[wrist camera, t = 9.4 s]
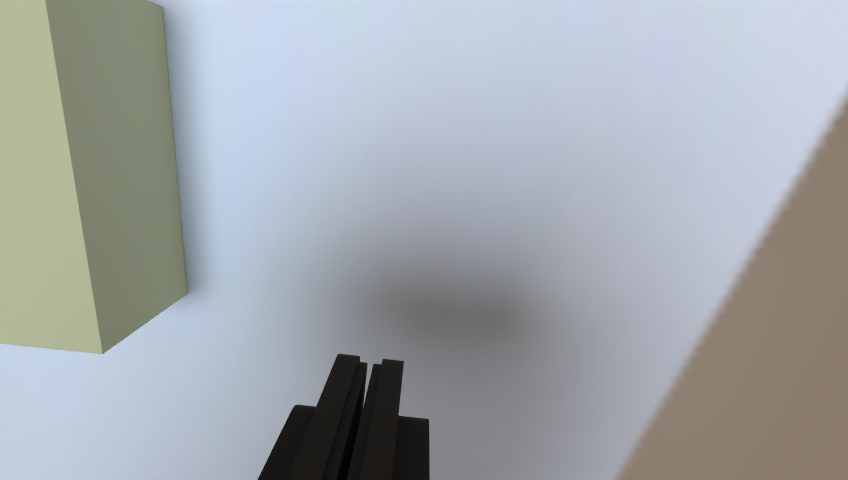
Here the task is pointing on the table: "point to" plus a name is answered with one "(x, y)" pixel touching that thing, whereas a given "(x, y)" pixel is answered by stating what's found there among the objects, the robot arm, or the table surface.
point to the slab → (86, 173)
